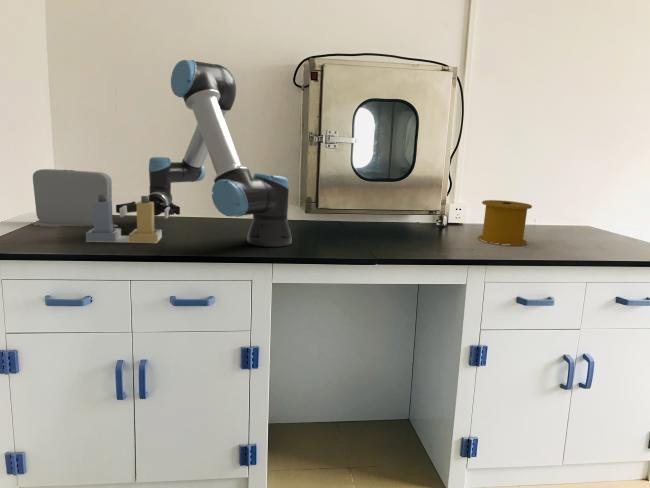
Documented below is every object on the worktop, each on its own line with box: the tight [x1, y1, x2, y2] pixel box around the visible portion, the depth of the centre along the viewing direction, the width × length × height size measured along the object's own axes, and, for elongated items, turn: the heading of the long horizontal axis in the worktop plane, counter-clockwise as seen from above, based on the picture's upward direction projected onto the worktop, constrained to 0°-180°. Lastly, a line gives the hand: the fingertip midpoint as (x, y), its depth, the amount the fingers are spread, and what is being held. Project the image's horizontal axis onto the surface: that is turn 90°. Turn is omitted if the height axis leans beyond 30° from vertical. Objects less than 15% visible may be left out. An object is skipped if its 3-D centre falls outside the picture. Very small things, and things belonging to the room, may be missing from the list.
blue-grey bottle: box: [93, 195, 114, 233], centre depth 167 cm, size 4×4×14 cm
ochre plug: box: [136, 195, 155, 234], centre depth 169 cm, size 4×4×14 cm
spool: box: [477, 199, 533, 245], centre depth 201 cm, size 18×18×15 cm
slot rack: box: [85, 227, 163, 244], centre depth 169 cm, size 22×10×4 cm, turn 98°
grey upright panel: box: [31, 168, 119, 228], centre depth 189 cm, size 31×10×20 cm, turn 84°
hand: (143, 213), depth 165 cm, fingers open, 13 cm apart
